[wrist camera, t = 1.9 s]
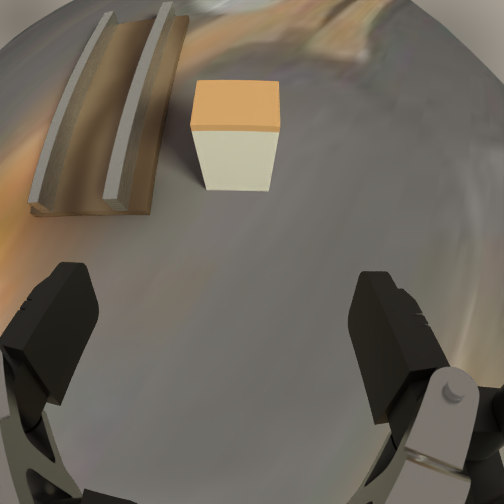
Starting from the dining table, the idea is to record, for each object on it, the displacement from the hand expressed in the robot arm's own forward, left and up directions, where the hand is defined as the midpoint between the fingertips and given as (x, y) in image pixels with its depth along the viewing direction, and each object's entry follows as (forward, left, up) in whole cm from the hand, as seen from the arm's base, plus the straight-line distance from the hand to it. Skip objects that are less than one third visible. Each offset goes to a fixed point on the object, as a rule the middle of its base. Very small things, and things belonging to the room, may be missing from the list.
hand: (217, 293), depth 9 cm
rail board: (-13, +20, -15) cm, 28 cm away
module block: (0, +11, -15) cm, 19 cm away
